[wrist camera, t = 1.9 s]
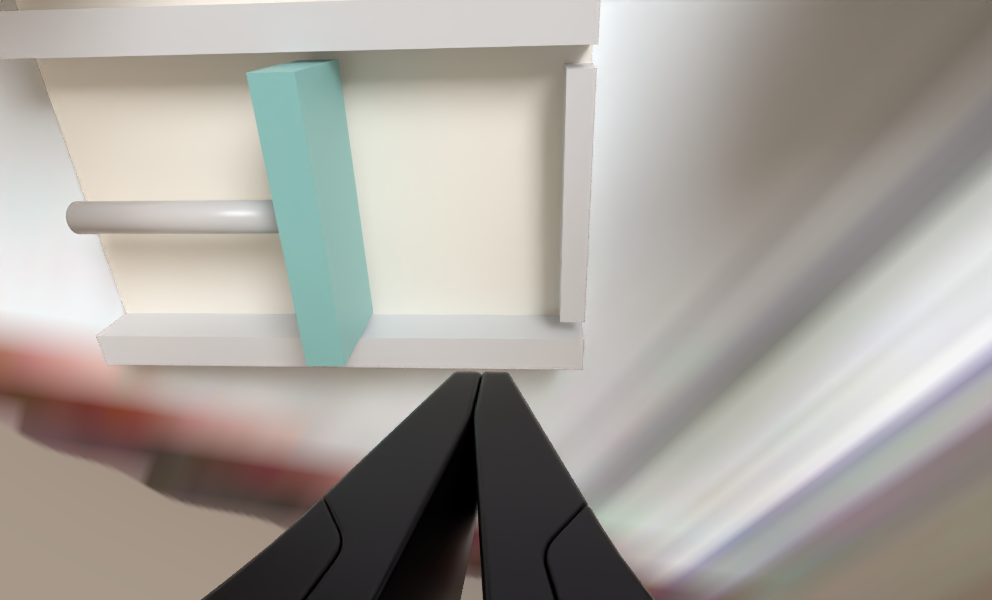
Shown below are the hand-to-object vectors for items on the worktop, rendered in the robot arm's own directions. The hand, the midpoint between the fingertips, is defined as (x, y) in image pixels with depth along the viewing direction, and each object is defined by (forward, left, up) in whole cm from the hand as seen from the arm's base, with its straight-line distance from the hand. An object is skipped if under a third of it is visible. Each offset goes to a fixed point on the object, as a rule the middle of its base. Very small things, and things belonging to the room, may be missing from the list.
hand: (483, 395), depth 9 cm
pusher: (+9, 0, -11) cm, 14 cm away
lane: (+6, 0, -12) cm, 13 cm away
